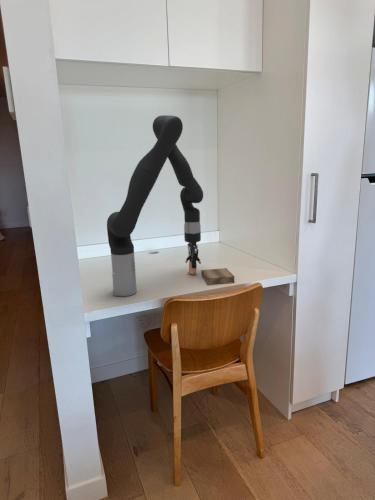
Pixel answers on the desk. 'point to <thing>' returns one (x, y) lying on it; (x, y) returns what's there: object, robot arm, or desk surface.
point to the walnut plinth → (217, 276)
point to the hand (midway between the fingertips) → (193, 266)
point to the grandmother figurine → (191, 270)
